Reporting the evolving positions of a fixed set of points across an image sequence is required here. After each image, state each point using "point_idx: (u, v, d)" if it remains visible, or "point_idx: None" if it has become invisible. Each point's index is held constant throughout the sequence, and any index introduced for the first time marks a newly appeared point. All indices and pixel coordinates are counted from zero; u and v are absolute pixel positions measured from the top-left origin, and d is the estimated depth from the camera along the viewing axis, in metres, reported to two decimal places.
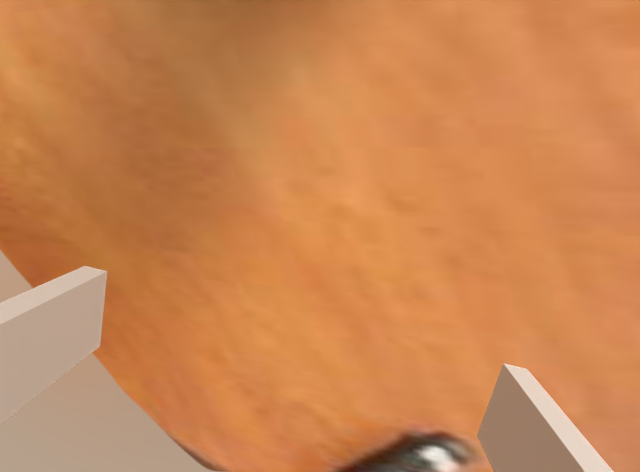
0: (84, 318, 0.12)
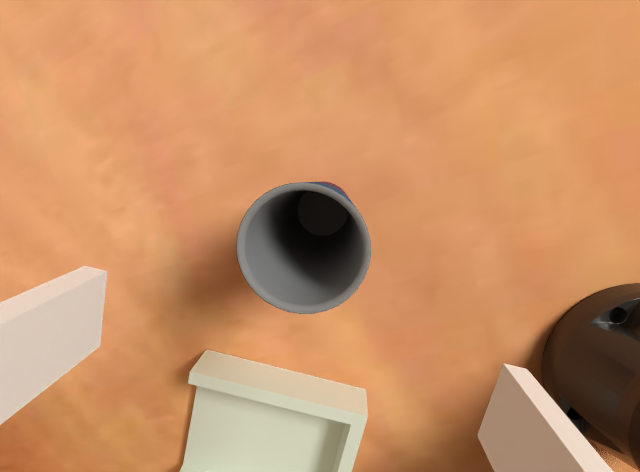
0: (84, 318, 0.12)
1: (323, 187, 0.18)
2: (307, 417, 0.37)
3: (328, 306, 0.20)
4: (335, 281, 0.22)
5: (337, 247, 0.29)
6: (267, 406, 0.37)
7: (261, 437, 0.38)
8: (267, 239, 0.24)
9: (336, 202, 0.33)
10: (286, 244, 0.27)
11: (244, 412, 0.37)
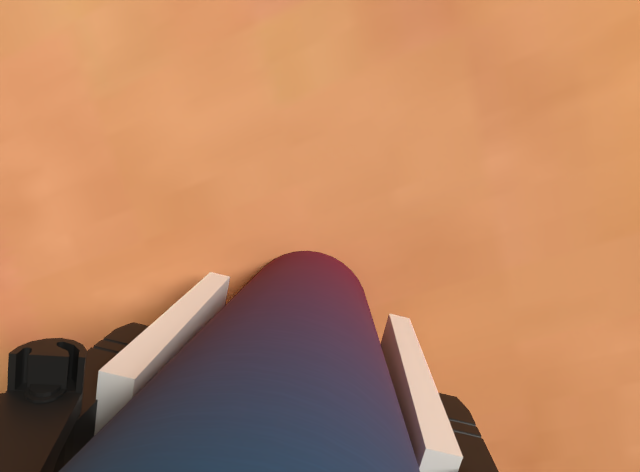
0: None
1: None
2: None
3: None
4: None
5: None
6: None
7: None
8: None
9: None
10: None
11: None
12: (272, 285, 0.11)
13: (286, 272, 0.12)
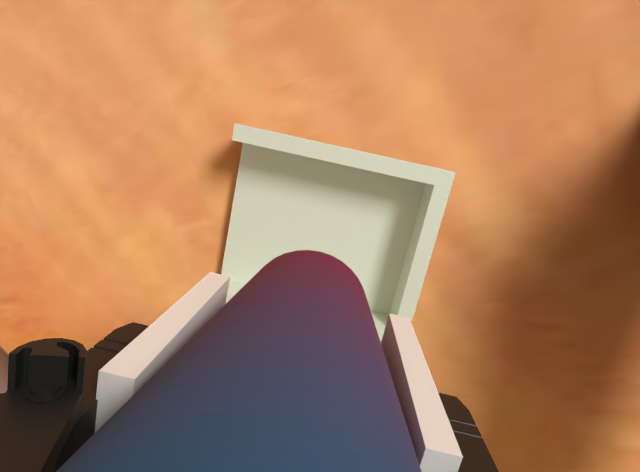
0: None
1: None
2: (372, 204, 0.31)
3: None
4: None
5: None
6: (323, 192, 0.31)
7: (315, 234, 0.32)
8: None
9: None
10: None
11: (295, 202, 0.31)
12: (272, 283, 0.11)
13: (286, 271, 0.12)
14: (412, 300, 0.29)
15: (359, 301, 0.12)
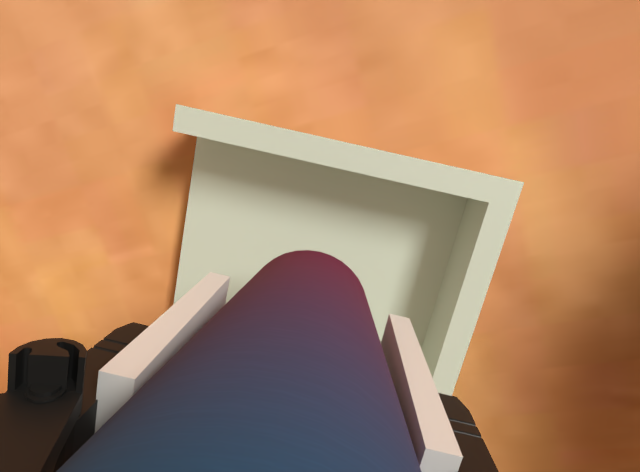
0: None
1: None
2: (388, 227, 0.21)
3: None
4: None
5: None
6: (316, 209, 0.21)
7: None
8: None
9: None
10: None
11: (275, 223, 0.21)
12: (272, 284, 0.11)
13: (286, 272, 0.12)
14: (449, 375, 0.19)
15: (359, 301, 0.12)
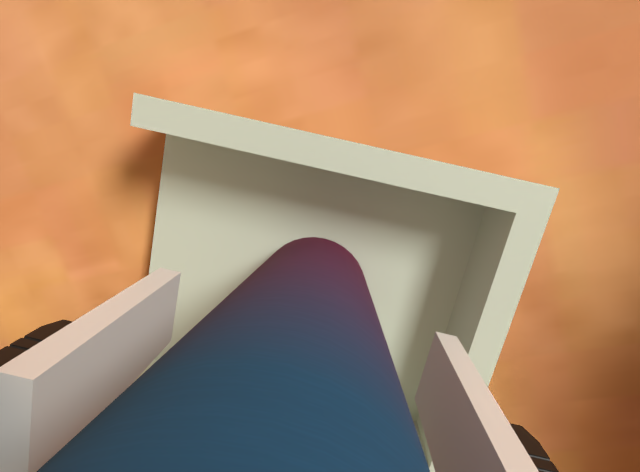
0: (164, 315, 0.13)
1: None
2: (392, 240, 0.18)
3: None
4: None
5: None
6: (308, 219, 0.18)
7: None
8: None
9: None
10: None
11: (260, 235, 0.18)
12: (287, 259, 0.13)
13: (297, 252, 0.14)
14: None
15: (358, 276, 0.14)
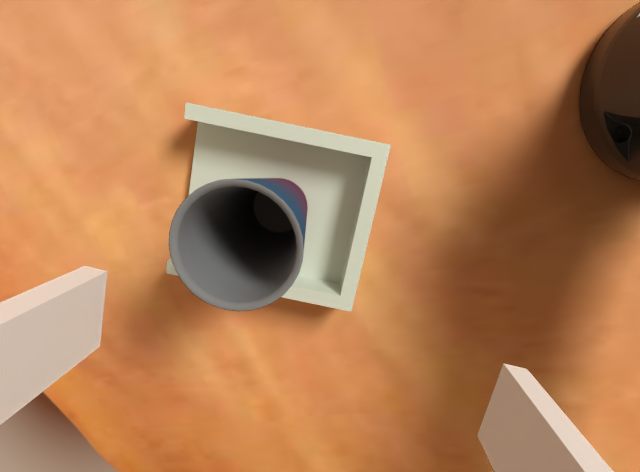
0: (84, 318, 0.12)
1: (252, 183, 0.18)
2: (320, 179, 0.33)
3: (265, 302, 0.20)
4: (277, 277, 0.22)
5: (289, 243, 0.29)
6: (275, 168, 0.33)
7: None
8: (210, 237, 0.24)
9: None
10: (236, 242, 0.27)
11: None
12: None
13: None
14: (357, 266, 0.31)
15: (297, 189, 0.30)
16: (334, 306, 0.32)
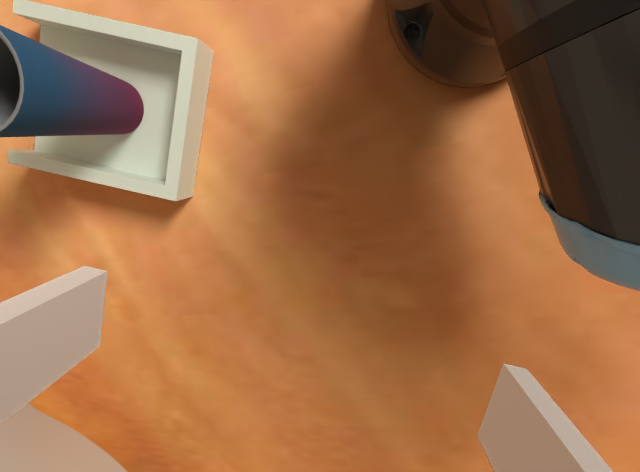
0: (84, 318, 0.12)
1: None
2: (153, 80, 0.36)
3: None
4: None
5: None
6: (112, 70, 0.36)
7: None
8: None
9: None
10: None
11: None
12: None
13: None
14: (177, 156, 0.34)
15: (113, 79, 0.32)
16: (160, 196, 0.35)
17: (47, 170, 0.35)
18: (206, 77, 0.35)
